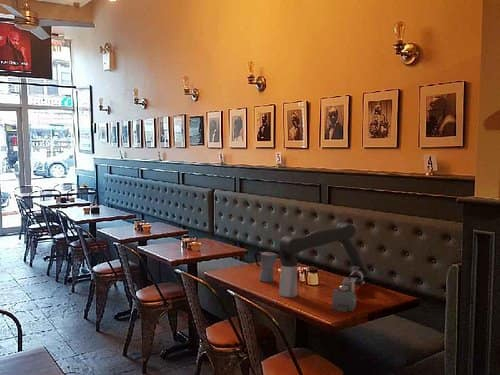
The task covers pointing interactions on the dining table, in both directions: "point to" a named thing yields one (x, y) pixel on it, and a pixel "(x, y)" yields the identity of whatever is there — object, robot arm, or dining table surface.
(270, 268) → the moka pot
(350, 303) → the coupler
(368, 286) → the dining table surface
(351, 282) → the block
